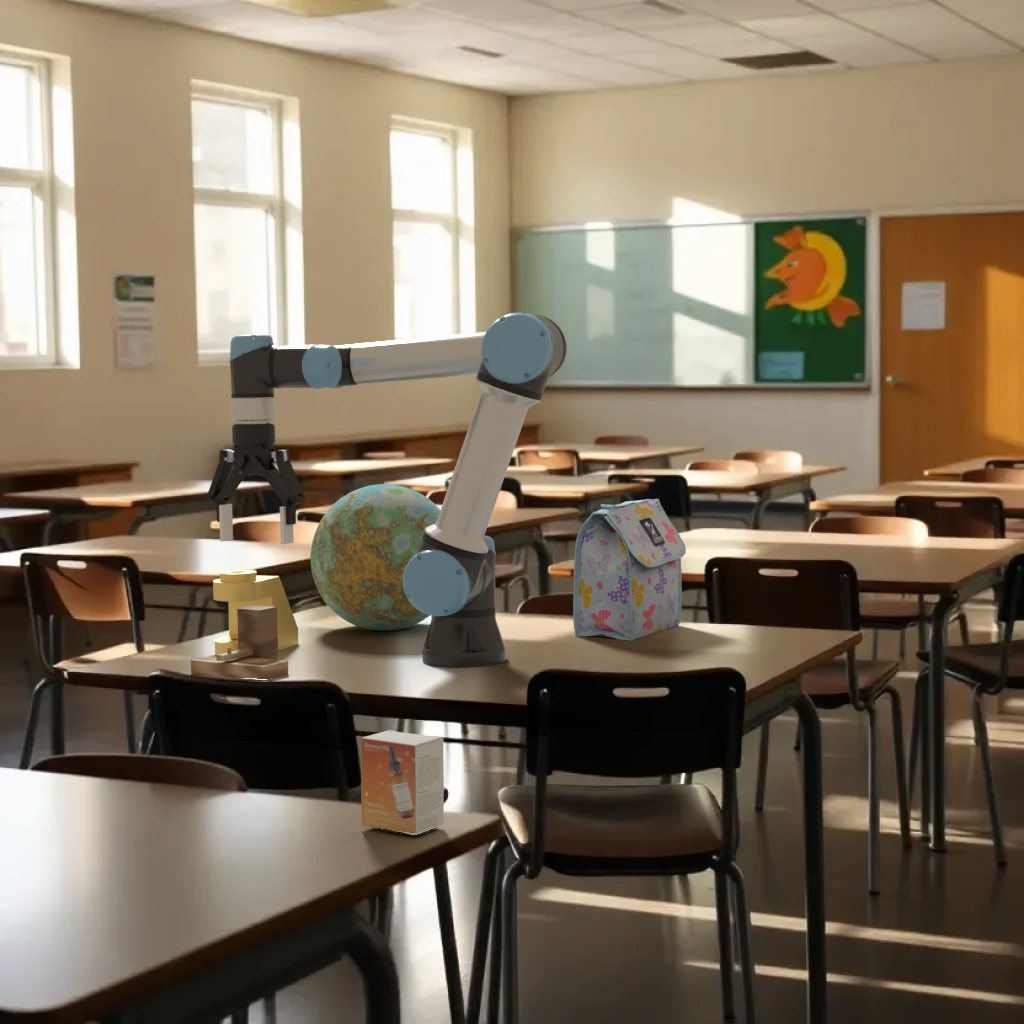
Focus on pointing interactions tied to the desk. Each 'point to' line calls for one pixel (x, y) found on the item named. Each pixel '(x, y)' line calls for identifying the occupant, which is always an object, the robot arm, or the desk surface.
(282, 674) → the board
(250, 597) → the clamp
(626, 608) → the lunch bag
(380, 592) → the decorative globe
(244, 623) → the taupe upright block
